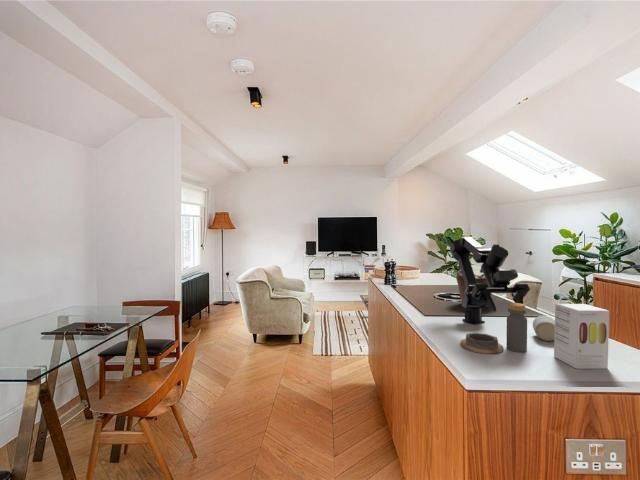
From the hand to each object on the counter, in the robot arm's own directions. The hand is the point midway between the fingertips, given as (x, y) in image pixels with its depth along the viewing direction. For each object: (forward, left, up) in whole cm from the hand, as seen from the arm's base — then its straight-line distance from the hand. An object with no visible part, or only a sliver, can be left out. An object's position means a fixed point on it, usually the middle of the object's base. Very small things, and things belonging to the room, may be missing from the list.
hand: (508, 311), depth 114 cm
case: (-37, -49, -12) cm, 62 cm away
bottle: (+2, +4, -12) cm, 13 cm away
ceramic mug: (-19, +2, -12) cm, 22 cm away
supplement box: (-5, +19, -12) cm, 23 cm away
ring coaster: (+11, -2, -11) cm, 16 cm away
